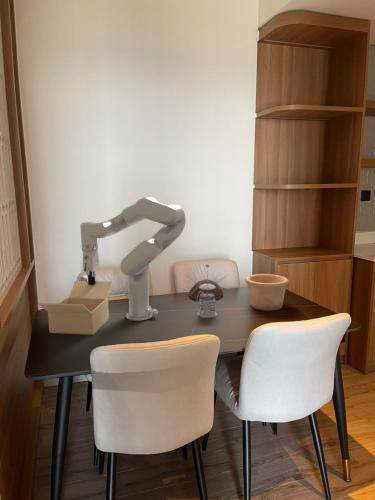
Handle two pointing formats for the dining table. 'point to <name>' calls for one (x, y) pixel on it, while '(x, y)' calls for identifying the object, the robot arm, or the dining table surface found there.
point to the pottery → (266, 291)
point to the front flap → (64, 308)
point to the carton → (80, 317)
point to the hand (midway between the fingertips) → (91, 284)
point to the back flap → (90, 290)
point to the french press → (207, 300)
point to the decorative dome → (196, 290)
